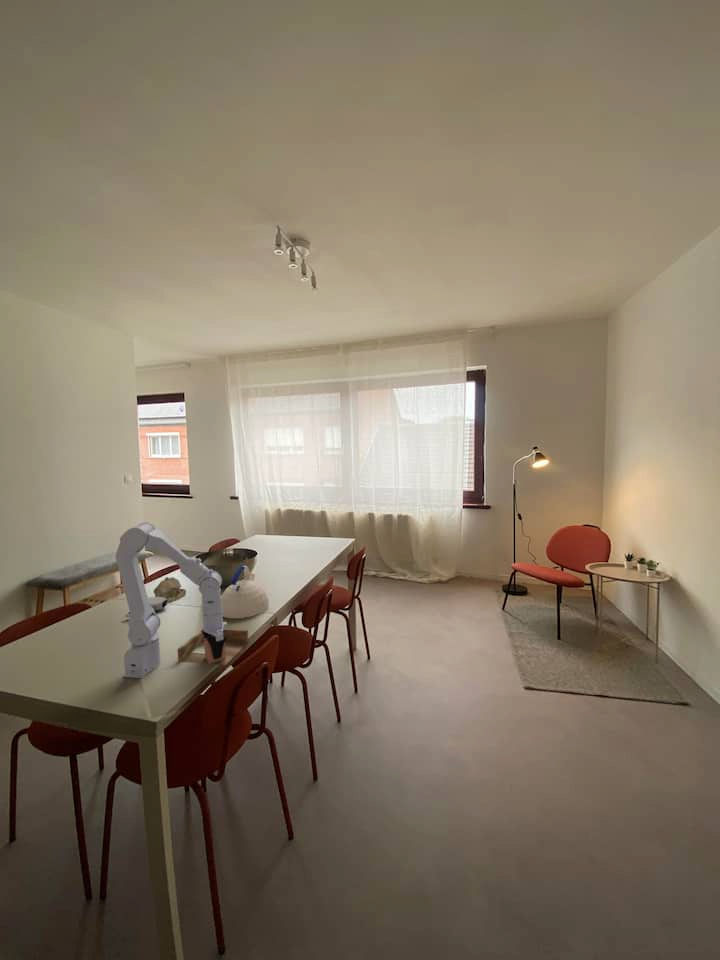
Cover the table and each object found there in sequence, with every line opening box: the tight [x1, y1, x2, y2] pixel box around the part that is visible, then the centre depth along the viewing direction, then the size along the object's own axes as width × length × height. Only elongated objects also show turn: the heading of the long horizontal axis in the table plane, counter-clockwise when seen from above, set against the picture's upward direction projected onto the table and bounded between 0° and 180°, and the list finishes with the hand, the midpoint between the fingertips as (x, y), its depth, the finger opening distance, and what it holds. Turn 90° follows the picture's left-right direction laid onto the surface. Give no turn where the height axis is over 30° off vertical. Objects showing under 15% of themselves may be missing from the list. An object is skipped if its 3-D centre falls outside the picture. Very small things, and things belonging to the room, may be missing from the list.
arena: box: [177, 628, 249, 666], centre depth 128 cm, size 15×16×5 cm
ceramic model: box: [153, 576, 187, 604], centre depth 179 cm, size 14×11×10 cm
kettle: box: [221, 565, 270, 619], centre depth 164 cm, size 20×21×18 cm
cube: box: [204, 636, 226, 665], centre depth 123 cm, size 5×5×6 cm
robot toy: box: [125, 596, 171, 618], centre depth 163 cm, size 12×4×15 cm
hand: (215, 654), depth 123 cm, fingers closed on cube, 5 cm apart
